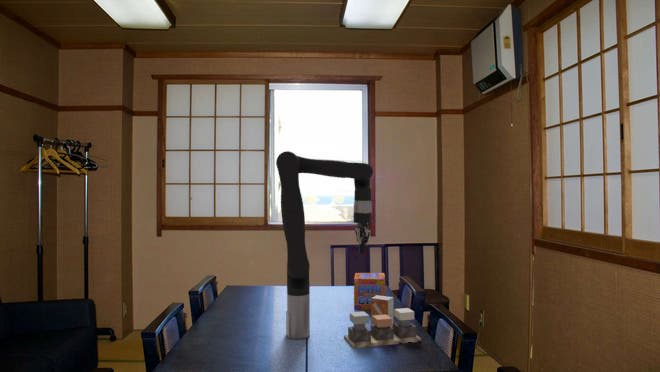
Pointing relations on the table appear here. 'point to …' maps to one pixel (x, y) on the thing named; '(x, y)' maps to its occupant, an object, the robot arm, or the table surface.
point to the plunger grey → (359, 320)
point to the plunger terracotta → (382, 321)
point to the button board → (381, 336)
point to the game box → (367, 289)
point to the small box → (382, 306)
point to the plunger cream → (404, 316)
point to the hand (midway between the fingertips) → (361, 253)
